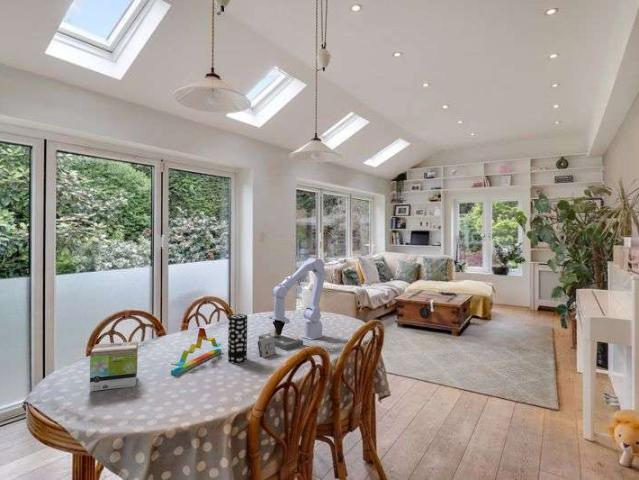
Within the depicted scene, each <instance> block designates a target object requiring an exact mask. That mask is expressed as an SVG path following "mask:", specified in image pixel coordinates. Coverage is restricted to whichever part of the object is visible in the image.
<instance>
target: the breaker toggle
mask: <svg viewBox="0 0 639 480" xmlns="http://www.w3.org/2000/svg"><path fill="white" fill-rule="evenodd" d="M270 333H271V336H274V337H275V336H279V335H277V334H276V329H275V327H273V328H271V329H270Z"/></svg>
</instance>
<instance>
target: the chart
mask: <svg viewBox="0 0 639 480" xmlns="http://www.w3.org/2000/svg"><path fill="white" fill-rule="evenodd" d="M198 329H199V330H198V334H197V339H196V344H194V343H191V344H190V347H189V349H188V350H183V351H182V355H181V356H180V359H179V361H178V362H177V363H171V365H172V366H176V367H175V368H173V369H170V375H171V376H178V375H181V374H182V373H184V372H186V371H189V370H190V369H192V368H194V367H196V366H198V365H200V364H202V363H204V362H206V361H208V360H209V359H211V358H213V357H215V356H217V355H219V354H222V348H219V347H220V346H222V343H217V342H216V339H215V337H210V336H209V337H208V336H207V333H206V329H205V328H203V327H198ZM203 341H206V342H207V341H208V342H211V345H212V347H213V348H214V349H212V350H210V351H208V352H206V353H204V354H202V355H199V356H197V357H195V358H194V359H191V360H189V361H187V362H186V360H187V359H188V356H189V354H194V352H195V351H196V349H202V343H203Z"/></svg>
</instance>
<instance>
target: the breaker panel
mask: <svg viewBox="0 0 639 480" xmlns="http://www.w3.org/2000/svg"><path fill="white" fill-rule="evenodd" d="M268 337H271V332H269V333H264V334H261V335H258V341H260V340H261V339H264V338H268ZM273 338H274V344H275V348H278V349H281V350H283V351H287V350H291V349H294V348H295V349H296V348H298V347H303V345H304V340H303V339H301V338H297V337H294V336H291V335H288V334H285V333H281V335H279V336H275V337H274V336H273Z"/></svg>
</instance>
